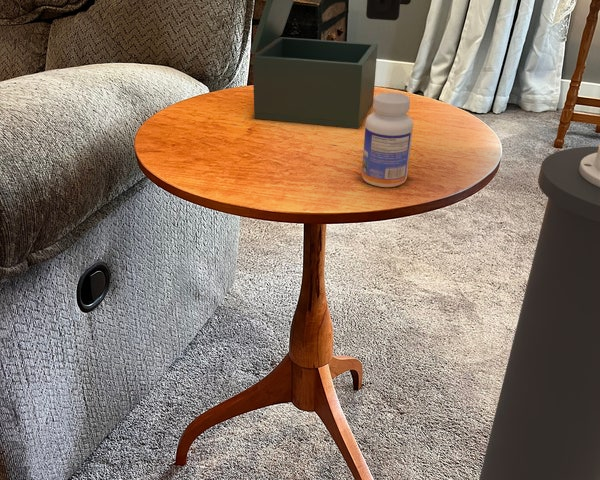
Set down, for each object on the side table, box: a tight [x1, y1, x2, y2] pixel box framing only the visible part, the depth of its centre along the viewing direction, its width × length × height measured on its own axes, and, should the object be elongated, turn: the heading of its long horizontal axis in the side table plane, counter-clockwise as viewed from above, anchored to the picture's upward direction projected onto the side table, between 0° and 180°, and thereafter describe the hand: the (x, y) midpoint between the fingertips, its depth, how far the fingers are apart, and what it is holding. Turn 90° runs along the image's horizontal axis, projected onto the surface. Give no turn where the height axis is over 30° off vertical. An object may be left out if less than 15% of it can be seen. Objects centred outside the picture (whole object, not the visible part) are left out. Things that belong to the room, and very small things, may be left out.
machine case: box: [252, 36, 379, 129], centre depth 97 cm, size 16×14×9 cm
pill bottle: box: [361, 92, 414, 188], centre depth 74 cm, size 5×5×10 cm
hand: (389, 10), depth 68 cm, fingers open, 9 cm apart
